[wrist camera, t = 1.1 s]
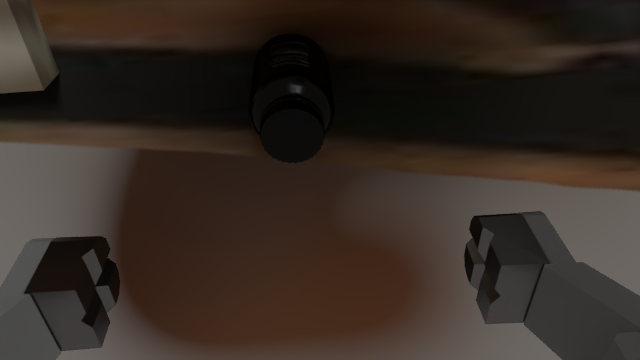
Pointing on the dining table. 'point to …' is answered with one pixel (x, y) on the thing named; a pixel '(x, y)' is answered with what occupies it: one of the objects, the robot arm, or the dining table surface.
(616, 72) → the dining table surface
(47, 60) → the ash platform
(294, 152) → the supplement bottle
